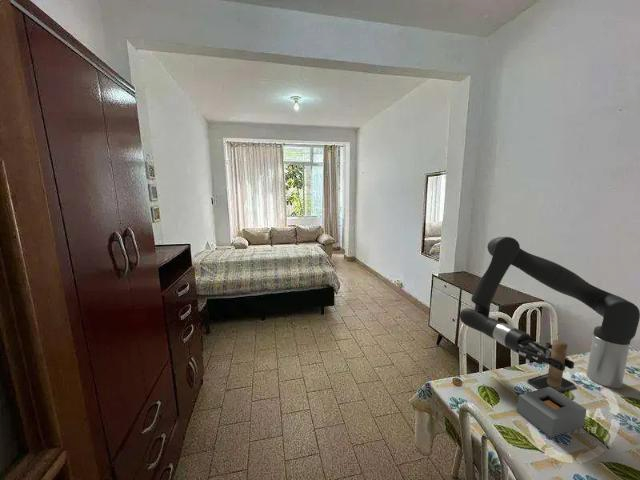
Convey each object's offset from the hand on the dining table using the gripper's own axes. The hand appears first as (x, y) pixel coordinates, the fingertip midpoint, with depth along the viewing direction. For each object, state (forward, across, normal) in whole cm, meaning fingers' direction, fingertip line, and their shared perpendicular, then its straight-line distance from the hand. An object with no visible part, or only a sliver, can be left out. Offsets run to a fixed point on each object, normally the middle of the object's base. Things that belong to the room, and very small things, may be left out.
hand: (568, 366), depth 77 cm
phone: (-14, +18, +20) cm, 30 cm away
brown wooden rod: (-3, 0, +8) cm, 9 cm away
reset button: (-3, 0, +19) cm, 19 cm away
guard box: (-3, 0, +20) cm, 20 cm away
